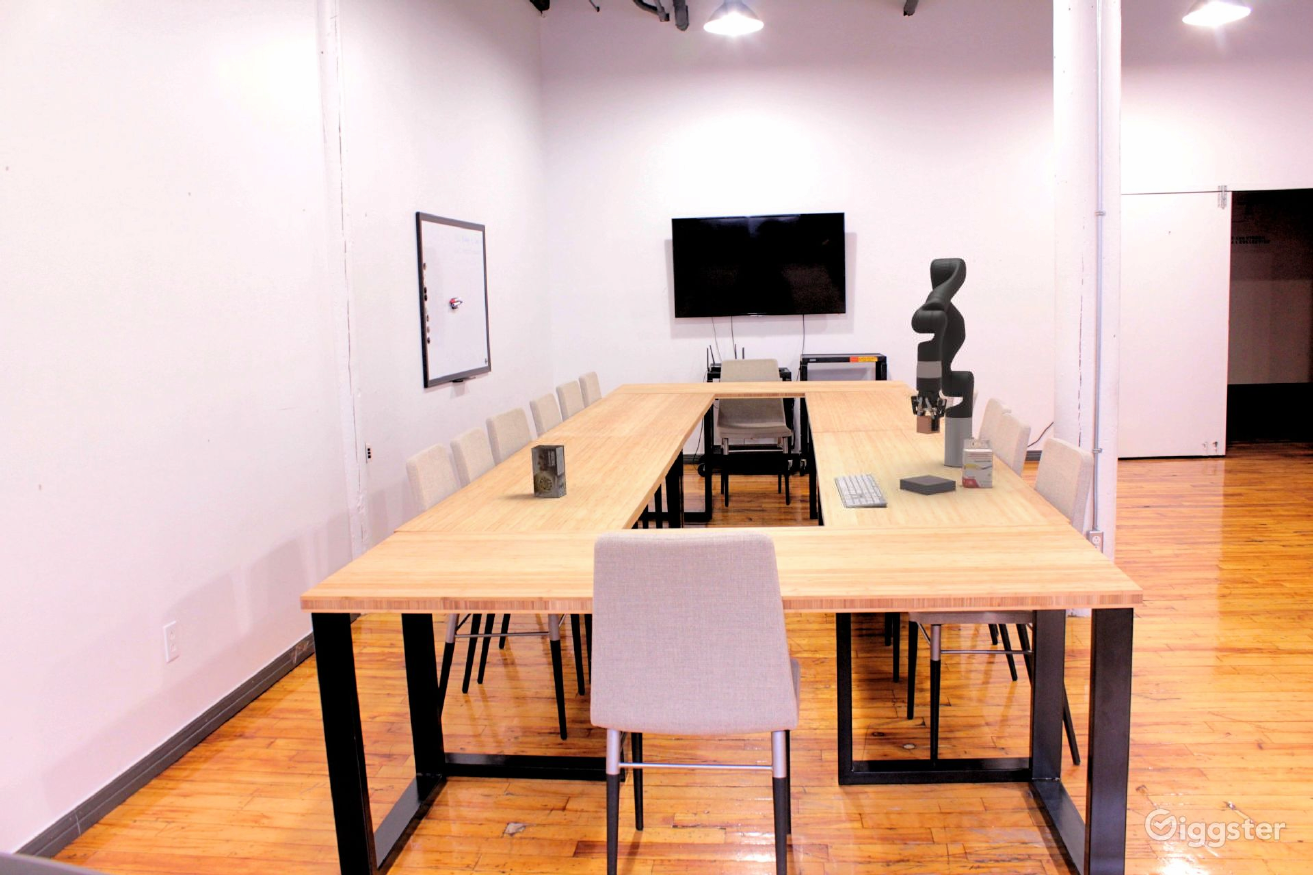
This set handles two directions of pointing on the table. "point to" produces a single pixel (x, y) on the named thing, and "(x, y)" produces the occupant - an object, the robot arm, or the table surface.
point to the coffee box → (548, 470)
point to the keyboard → (860, 491)
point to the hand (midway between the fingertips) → (928, 429)
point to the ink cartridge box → (977, 464)
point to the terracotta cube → (925, 425)
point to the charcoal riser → (927, 484)
